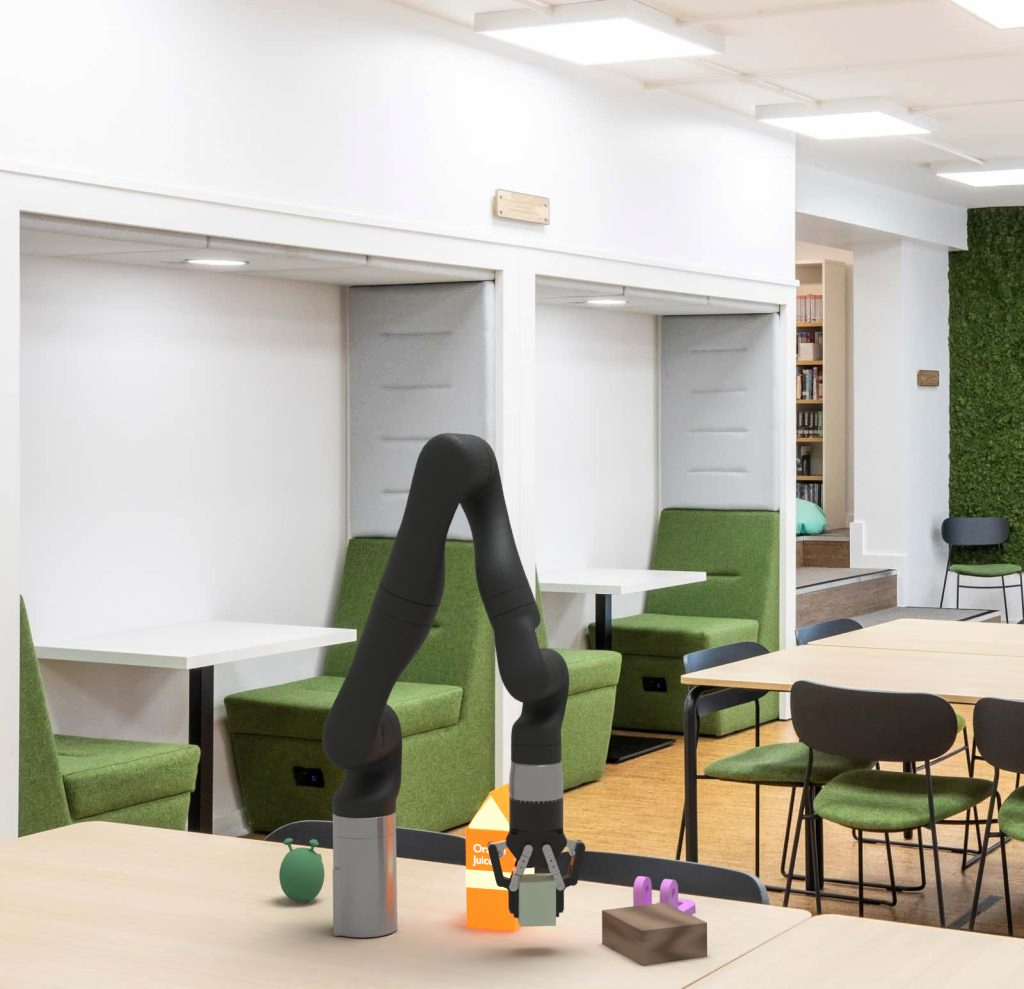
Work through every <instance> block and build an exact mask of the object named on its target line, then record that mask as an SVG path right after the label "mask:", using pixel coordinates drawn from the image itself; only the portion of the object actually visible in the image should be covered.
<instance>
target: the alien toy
mask: <svg viewBox="0 0 1024 989" xmlns="http://www.w3.org/2000/svg"><path fill="white" fill-rule="evenodd" d="M293 842H294V839H293V838H290V837H288V838H285V839H284V841H283V842H282V843H283V845H284V846H285V845H286V846H288V850H289V851H288V852H287V853H286V854H285V855H284V858H283V859H282V861H281V863H280V867H279V873H278V874H279V875H278V877H279V878H278V879H279V885H280V887H281V889H282V893H284V895H285V896H286V897H287V899H289V900H291V901H292V902H294V901H295V902H294V903H298V902H305V903H308V901H309V902H312V900H315V898H317V897H318V895H319V894H320V893H321V891H322V888H323V885H324V881H325V867H324V862H323V858H322V854H321V853H318V852H316V851H315V850H314V848H315V847H318V846H319V845H320V844H319V841H318V840H317V839H314V838H313V839H310V840H309V844H310V845H311V846H310V848H308V847H296V848H293V847H292V843H293Z"/></svg>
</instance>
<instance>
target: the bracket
mask: <svg viewBox="0 0 1024 989" xmlns="http://www.w3.org/2000/svg"><path fill="white" fill-rule="evenodd" d="M652 888H653V887H652V880H651V878H650V877H649V876H641V875H638V876H637V877H636V878H635V879H634V883H633V889H632V891H633V892H632V897H633V898H632V899H633V900H632V901H633V903H632V904H633V905H632V906H640V905H648V904H653V896H652V894H653V889H652ZM659 888H660V889H659V901H658V902H656V903H655V904H657V903H666V904H668V905H671V906H673V907H675V908H677V909H679V910H681V911H683V912H686V913H688V914H690V915H692V916H693V915H694V914H695V913H696V902H695V901H693V900H691V899H688V898H679V885H678V882H677V880H676V879H669V878H664V879H663V880H662V881H661V884H660V887H659ZM693 913H694V914H693Z"/></svg>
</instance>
